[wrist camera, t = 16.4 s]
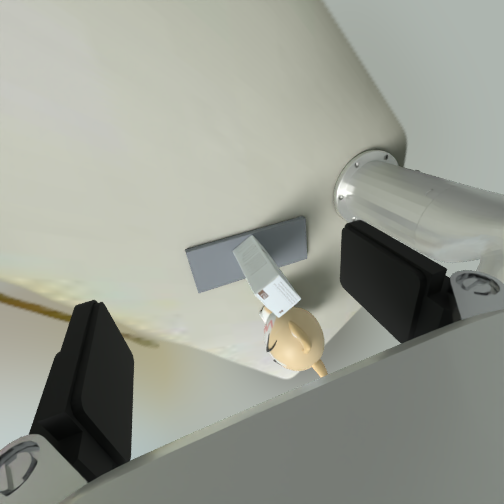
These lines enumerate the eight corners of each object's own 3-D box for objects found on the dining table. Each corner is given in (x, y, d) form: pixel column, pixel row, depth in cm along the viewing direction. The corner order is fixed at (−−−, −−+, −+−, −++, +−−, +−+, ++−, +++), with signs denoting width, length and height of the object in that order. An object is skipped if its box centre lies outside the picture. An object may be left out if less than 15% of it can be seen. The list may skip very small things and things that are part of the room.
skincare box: (271, 255, 47) (305, 299, 37) (251, 272, 48) (279, 320, 38) (250, 232, 44) (282, 273, 34) (229, 250, 44) (254, 296, 34)
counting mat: (302, 216, 47) (305, 218, 46) (304, 255, 51) (307, 258, 50) (185, 249, 43) (185, 252, 42) (197, 289, 47) (198, 293, 46)
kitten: (234, 295, 50) (265, 360, 38) (282, 266, 51) (327, 321, 38) (266, 340, 59) (299, 405, 46) (306, 314, 59) (350, 373, 47)
